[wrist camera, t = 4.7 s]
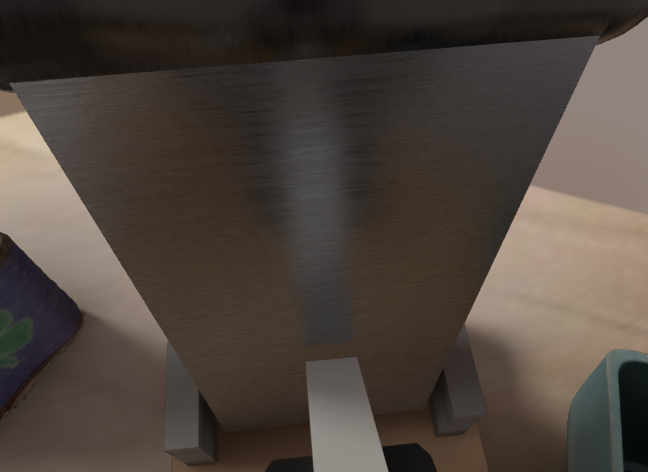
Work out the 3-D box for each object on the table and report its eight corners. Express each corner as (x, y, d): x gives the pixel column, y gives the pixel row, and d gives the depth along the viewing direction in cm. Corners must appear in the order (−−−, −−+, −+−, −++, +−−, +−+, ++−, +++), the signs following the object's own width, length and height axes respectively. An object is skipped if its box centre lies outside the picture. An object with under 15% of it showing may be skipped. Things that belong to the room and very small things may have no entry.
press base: (474, 516, 26) (529, 502, 19) (191, 550, 25) (139, 550, 18) (430, 314, 30) (461, 243, 24) (193, 338, 30) (152, 274, 23)
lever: (450, 417, 23) (782, -107, 6) (198, 446, 23) (-209, -39, 6) (436, 359, 25) (675, -199, 8) (199, 385, 24) (-123, -151, 7)
